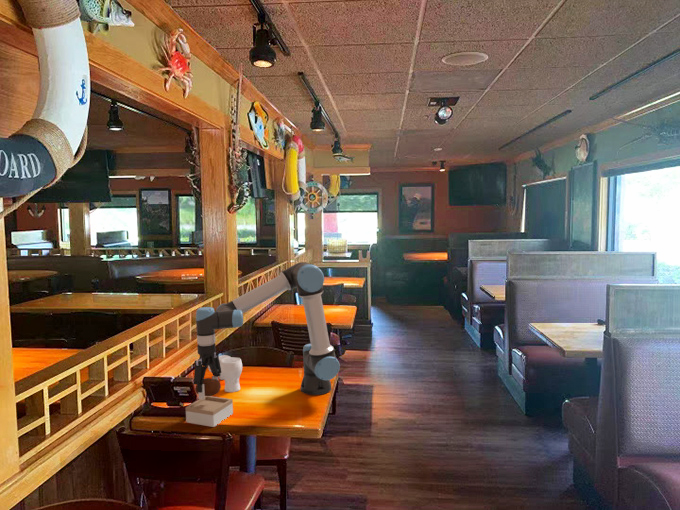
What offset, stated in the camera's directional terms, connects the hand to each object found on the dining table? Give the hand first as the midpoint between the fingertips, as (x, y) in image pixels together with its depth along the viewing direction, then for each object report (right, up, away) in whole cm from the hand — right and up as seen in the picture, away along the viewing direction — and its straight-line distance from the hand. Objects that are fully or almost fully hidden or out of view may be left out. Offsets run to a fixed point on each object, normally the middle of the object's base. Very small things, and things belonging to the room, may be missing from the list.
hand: (208, 394), depth 215 cm
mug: (-7, -6, +50) cm, 51 cm away
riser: (0, -10, +1) cm, 10 cm away
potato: (0, 0, 0) cm, 0 cm away
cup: (+3, -7, +34) cm, 35 cm away
